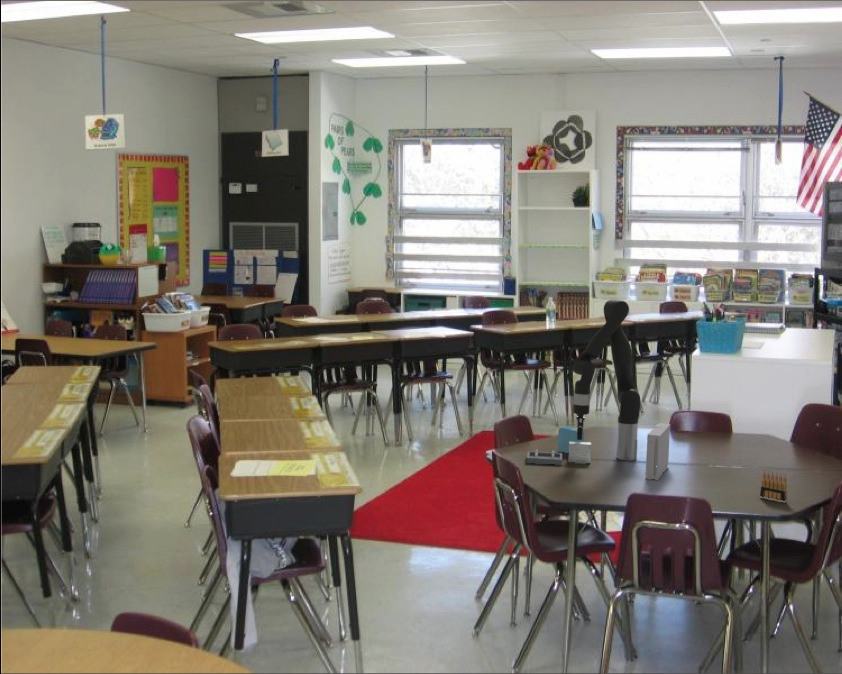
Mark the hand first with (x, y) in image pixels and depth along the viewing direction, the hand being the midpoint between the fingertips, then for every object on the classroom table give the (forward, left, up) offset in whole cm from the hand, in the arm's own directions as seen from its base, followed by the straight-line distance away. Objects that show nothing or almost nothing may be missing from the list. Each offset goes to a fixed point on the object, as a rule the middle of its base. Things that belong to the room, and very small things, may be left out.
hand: (579, 437), depth 517 cm
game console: (-34, +13, -12) cm, 39 cm away
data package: (+4, -17, -12) cm, 21 cm away
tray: (+16, +2, -11) cm, 19 cm away
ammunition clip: (-78, +50, -12) cm, 94 cm away
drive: (0, 0, -12) cm, 11 cm away
